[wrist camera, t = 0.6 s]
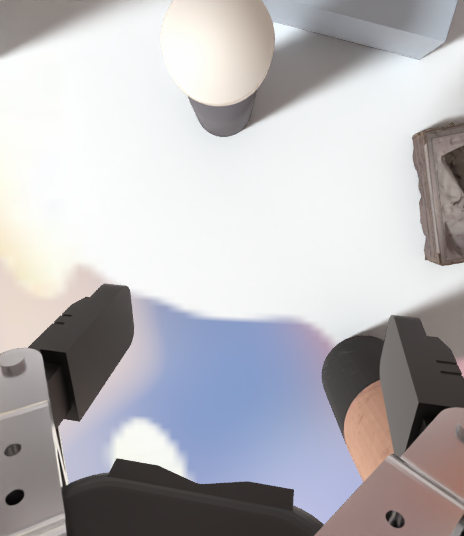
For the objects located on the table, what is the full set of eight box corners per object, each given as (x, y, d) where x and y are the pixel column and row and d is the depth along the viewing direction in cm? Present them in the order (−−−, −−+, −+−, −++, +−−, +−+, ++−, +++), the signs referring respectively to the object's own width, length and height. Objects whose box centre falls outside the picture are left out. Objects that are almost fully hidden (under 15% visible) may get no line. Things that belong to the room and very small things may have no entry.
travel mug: (409, 334, 37) (613, 499, 17) (398, 414, 38) (576, 653, 19) (322, 330, 37) (427, 490, 17) (314, 410, 38) (403, 645, 18)
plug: (186, 132, 34) (150, 85, 19) (199, 67, 33) (173, -36, 18) (246, 147, 34) (259, 113, 19) (261, 83, 33) (287, -6, 18)
